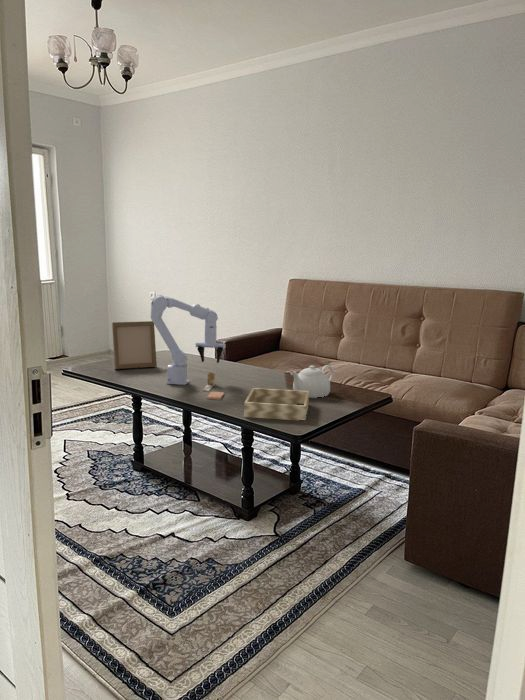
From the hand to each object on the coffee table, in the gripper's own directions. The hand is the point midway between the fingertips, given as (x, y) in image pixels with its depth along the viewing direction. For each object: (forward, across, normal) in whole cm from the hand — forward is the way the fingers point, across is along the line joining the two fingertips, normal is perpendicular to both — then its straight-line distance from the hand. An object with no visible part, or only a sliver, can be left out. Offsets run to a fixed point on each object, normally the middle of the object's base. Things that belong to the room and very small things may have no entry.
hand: (210, 361), depth 268 cm
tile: (+10, +8, -22) cm, 25 cm away
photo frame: (+10, -48, +23) cm, 54 cm away
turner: (+10, +2, -12) cm, 16 cm away
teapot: (+10, +51, -12) cm, 53 cm away
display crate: (+10, +38, -41) cm, 57 cm away
